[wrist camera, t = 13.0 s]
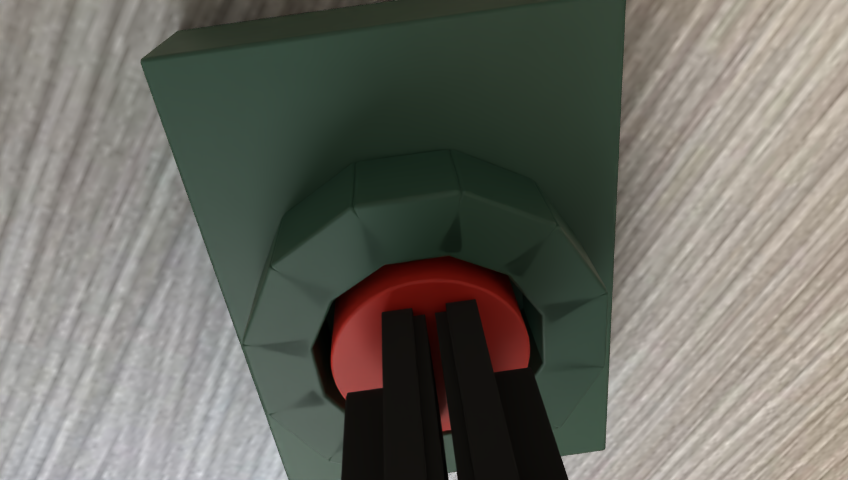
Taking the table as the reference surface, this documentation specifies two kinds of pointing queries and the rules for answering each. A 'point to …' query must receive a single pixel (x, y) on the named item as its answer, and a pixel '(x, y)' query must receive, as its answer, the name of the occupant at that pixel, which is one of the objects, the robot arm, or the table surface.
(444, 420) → the button
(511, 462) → the robot arm
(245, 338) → the button box
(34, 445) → the table surface
